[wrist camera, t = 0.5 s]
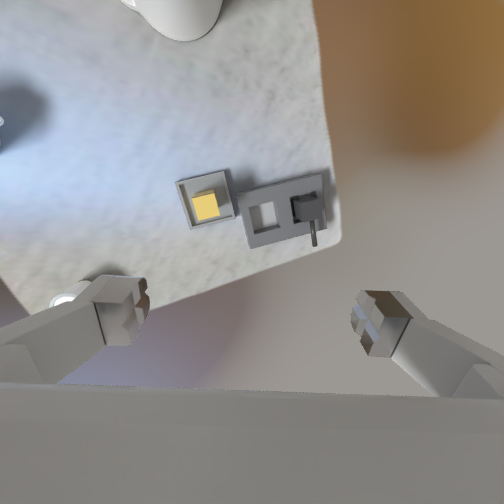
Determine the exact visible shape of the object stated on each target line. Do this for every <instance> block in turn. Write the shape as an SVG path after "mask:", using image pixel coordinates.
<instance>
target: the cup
mask: <svg viewBox="0 0 504 504" xmlns="http://www.w3.org/2000/svg"><path fill="white" fill-rule="evenodd" d="M3 124H4V120H3V118H2V117H1V116H0V126H1V125H3ZM0 144H1V140H0Z"/></svg>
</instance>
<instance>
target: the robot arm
mask: <svg viewBox="0 0 504 504" xmlns="http://www.w3.org/2000/svg"><path fill="white" fill-rule="evenodd" d="M121 1H122V3H124V4H125V5H126V6H128V7H129V8H131V9H133V10H135V11H137V12H139V13H140V14H141V15H142V16H143V17H144V18H145V19H146V20H147V21H148V22H149V23H150V25H151V26H153V27H154V28H155V29H156V30H157V31H158V32H160V33H161V34H163V35H165V36H166V37H169V38H171V39H174V40H178V41H192V40H195V39H198V38H200V37H202V36H203V35H205V34H206V33H207V32H208V31H209V30H210V29H211V28H212V27H213V25H214V24H215V22H216V20H217V18H218V16H219V13H220V9H221V5H222V2H223V0H121ZM147 288H148V286H147V281H146V279H145V278H144V277H131V276H118V275H117V276H116V275H99V276H98V277H97V278H96V279H95V280H94V281H93V282H92V283H91V284H90V285H89V286H87V287H86V288H85V289H84V290H83V291H82V292H81V293H80V294H79V295H78V296H77V297H76V298H75V299H74V300H72V301H66V302H63V303H61V304H58V305H56V306H53V307H51V308H49V309H46V310H44V311H41V312H39V313H36V314H34V315H31V316H29V317H26V318H24V319H21V320H19V321H17V322H14V323H12V324H9V325H7V326H4V327H2V328H0V504H504V356H503V355H501V354H499V353H497V352H495V351H493V350H491V349H489V348H487V347H485V346H483V345H482V344H480V343H478V342H476V341H474V340H472V339H470V338H468V337H466V336H464V335H462V334H460V333H458V332H456V331H454V330H452V329H451V328H448V327H447V326H444V325H443V324H441V323H439V322H437V321H435V320H429V319H428V318H427V317H426V315H425V314H424V313H422V311H421V310H419V308H418V307H417V306H416V305H414V303H413V302H412V301H411V300H409V298H408V297H407V296H406V295H405V294H404V293H402V292H400V291H372V290H370V291H369V290H360V291H359V292H358V294H357V297H356V300H357V302H358V304H357V305H355V306H354V307H353V308H352V312H351V324H352V327H353V329H354V331H355V332H356V333H357V334H358V335H360V336H361V339H360V342H361V344H362V346H363V348H364V350H365V352H366V353H367V355H368V356H375V357H389V358H391V359H392V360H393V361H394V362H395V363H397V364H398V365H399V366H400V367H401V368H402V369H403V370H405V371H406V372H407V373H408V374H409V375H410V376H411V377H413V378H414V379H415V380H416V381H417V382H418V383H420V384H421V385H422V386H423V387H424V388H425V389H426V390H428V391H429V392H430V393H431V394H432V395H433V396H435V397H418V396H391V395H362V394H335V393H308V392H306V393H305V392H279V391H249V390H222V389H220V390H219V389H193V388H164V387H163V388H162V387H136V386H107V385H105V386H104V385H77V384H56V383H58V382H59V381H60V380H62V379H63V378H64V377H65V376H67V375H68V374H69V373H71V372H72V371H73V370H75V369H76V368H78V367H79V366H80V365H82V364H83V363H84V362H85V361H87V360H88V359H90V358H91V357H92V356H94V355H95V354H96V353H98V352H99V351H100V350H102V349H103V348H104V347H105V345H111V346H131V345H132V343H133V342H134V340H135V338H136V336H137V335H138V333H139V325H140V324H142V323H143V322H145V320H146V318H147V316H148V313H149V309H150V300H149V296H148V295H147V294H146V293H145V291H146V289H147Z"/></svg>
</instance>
